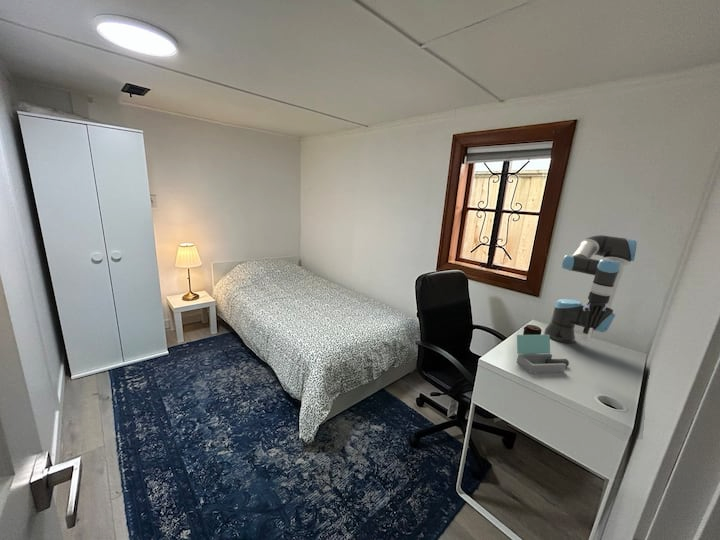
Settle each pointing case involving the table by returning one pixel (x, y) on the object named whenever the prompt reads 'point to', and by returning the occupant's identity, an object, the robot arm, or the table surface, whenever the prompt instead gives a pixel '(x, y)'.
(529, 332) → the coffee cup
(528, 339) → the cover
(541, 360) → the grey flat bent block
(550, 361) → the cylinder
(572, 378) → the table surface
